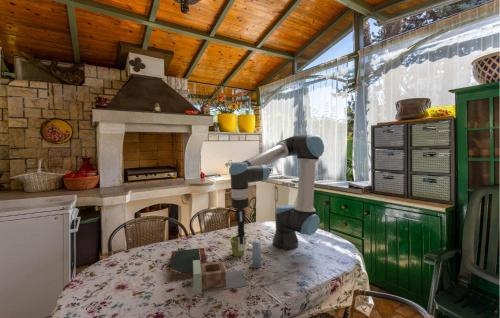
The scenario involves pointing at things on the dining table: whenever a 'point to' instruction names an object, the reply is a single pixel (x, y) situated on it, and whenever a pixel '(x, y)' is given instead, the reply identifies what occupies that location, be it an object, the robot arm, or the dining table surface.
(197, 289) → the wall
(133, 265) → the dining table surface
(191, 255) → the book
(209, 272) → the socket block
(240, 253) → the plant pot
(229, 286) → the runner mat
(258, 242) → the dowel
